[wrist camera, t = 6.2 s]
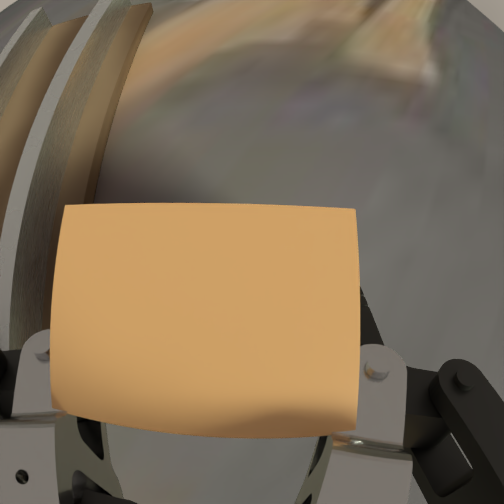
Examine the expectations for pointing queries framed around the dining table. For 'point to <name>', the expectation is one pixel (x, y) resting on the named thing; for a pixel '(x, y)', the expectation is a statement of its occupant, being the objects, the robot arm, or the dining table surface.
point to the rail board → (54, 143)
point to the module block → (208, 318)
